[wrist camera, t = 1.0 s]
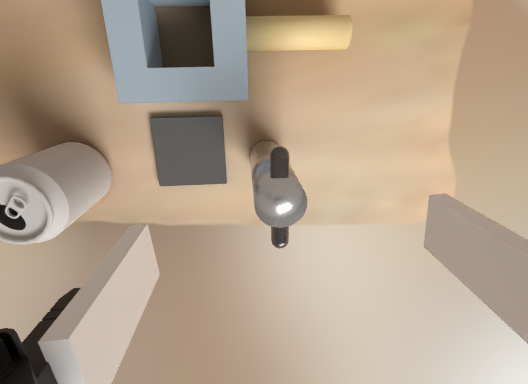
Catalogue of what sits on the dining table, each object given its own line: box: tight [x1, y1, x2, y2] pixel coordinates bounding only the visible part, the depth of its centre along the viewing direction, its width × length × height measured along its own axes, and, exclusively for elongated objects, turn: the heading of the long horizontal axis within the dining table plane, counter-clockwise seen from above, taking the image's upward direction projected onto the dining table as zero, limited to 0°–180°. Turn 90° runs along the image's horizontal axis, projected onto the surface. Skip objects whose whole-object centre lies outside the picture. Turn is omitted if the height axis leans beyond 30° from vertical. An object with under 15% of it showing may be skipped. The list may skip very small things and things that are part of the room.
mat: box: [150, 116, 227, 186], centre depth 36 cm, size 8×8×1 cm
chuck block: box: [101, 0, 352, 104], centre depth 30 cm, size 22×12×6 cm, turn 91°
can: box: [0, 142, 112, 244], centre depth 31 cm, size 8×8×12 cm
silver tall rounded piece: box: [250, 140, 307, 248], centre depth 30 cm, size 4×8×15 cm, turn 1°
